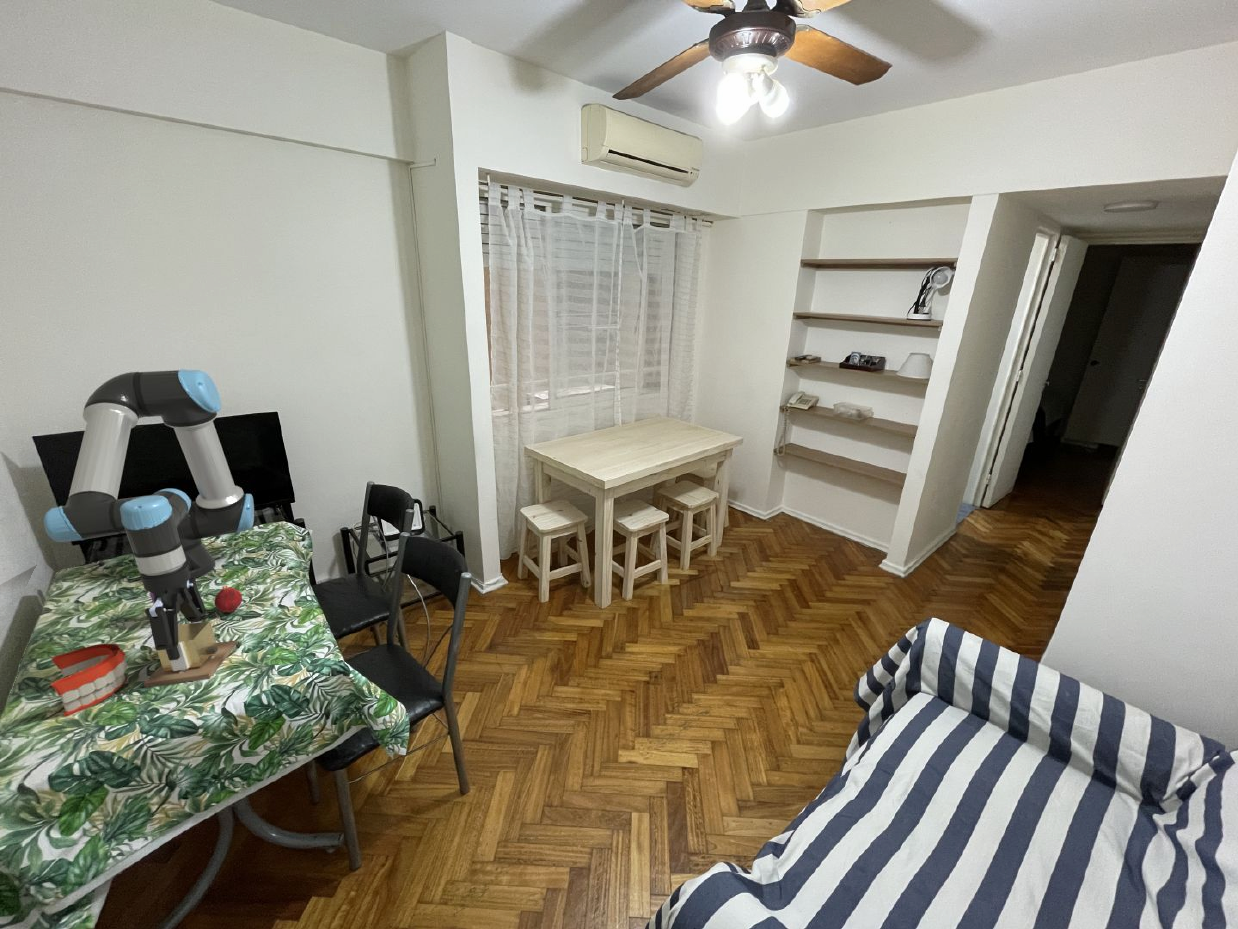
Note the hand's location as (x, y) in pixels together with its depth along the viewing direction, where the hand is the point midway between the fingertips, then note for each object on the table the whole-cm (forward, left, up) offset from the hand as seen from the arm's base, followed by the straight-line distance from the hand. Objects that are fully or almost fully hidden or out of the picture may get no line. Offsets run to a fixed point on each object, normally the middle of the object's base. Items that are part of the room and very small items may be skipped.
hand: (191, 657), depth 112 cm
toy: (+4, -15, -2) cm, 16 cm away
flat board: (0, 0, -2) cm, 2 cm away
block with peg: (0, 0, 0) cm, 0 cm away
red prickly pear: (-22, -2, -2) cm, 22 cm away
